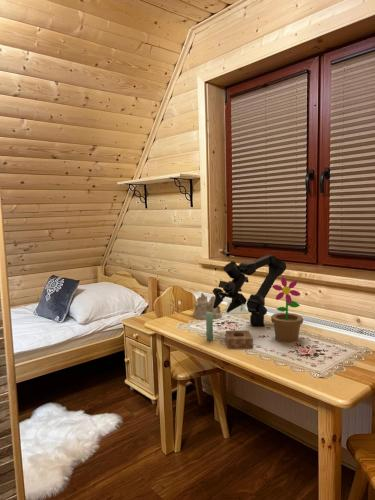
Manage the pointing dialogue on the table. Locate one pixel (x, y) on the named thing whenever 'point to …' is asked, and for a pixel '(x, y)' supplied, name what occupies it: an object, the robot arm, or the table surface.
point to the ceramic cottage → (206, 308)
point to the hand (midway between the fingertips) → (220, 310)
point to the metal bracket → (236, 309)
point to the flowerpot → (286, 315)
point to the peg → (209, 326)
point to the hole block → (239, 339)
